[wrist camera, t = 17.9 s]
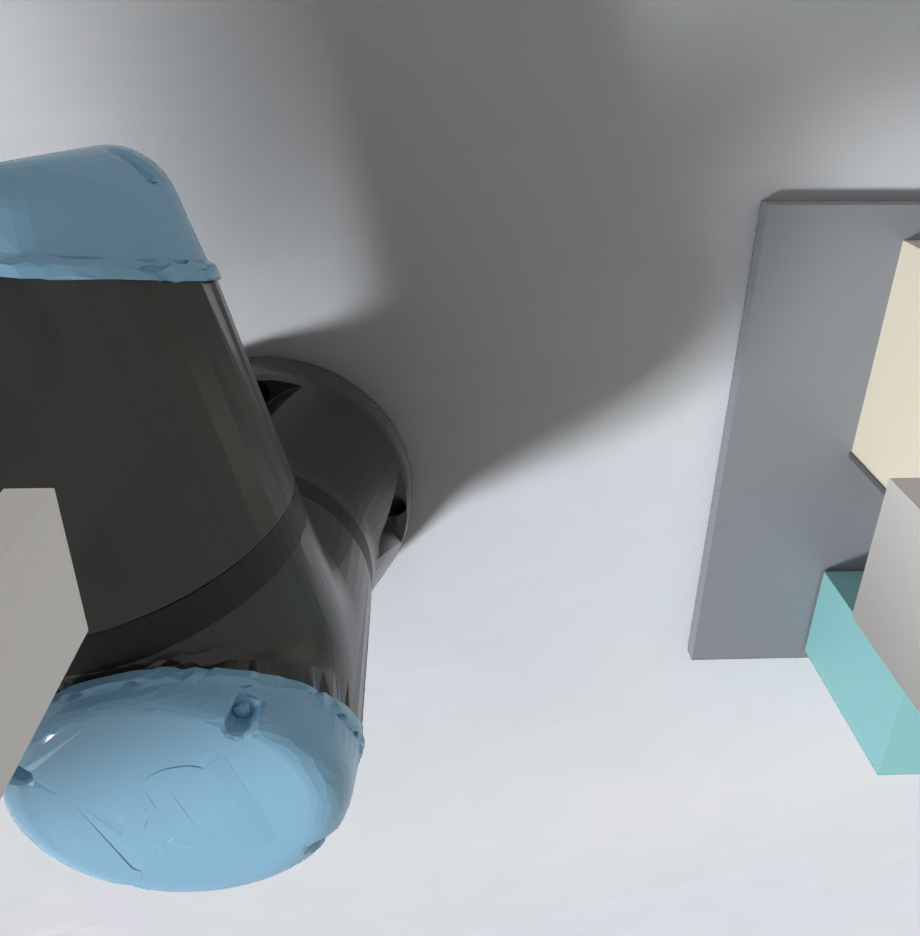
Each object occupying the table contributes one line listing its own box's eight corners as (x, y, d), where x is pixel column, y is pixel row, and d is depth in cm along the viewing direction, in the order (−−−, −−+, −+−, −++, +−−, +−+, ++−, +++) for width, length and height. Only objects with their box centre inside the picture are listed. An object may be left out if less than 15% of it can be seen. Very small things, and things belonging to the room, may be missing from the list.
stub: (867, 649, 55) (951, 772, 47) (804, 650, 55) (877, 775, 46) (890, 570, 53) (984, 686, 44) (824, 571, 52) (905, 688, 44)
